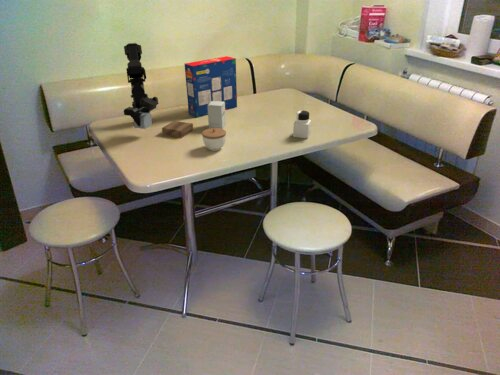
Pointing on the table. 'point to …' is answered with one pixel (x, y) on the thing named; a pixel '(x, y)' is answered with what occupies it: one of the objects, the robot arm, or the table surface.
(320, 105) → the table surface
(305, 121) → the medicine bottle
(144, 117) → the slate cube
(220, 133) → the lidded jar
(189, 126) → the walnut block
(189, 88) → the blue board game box
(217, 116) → the supplement box
